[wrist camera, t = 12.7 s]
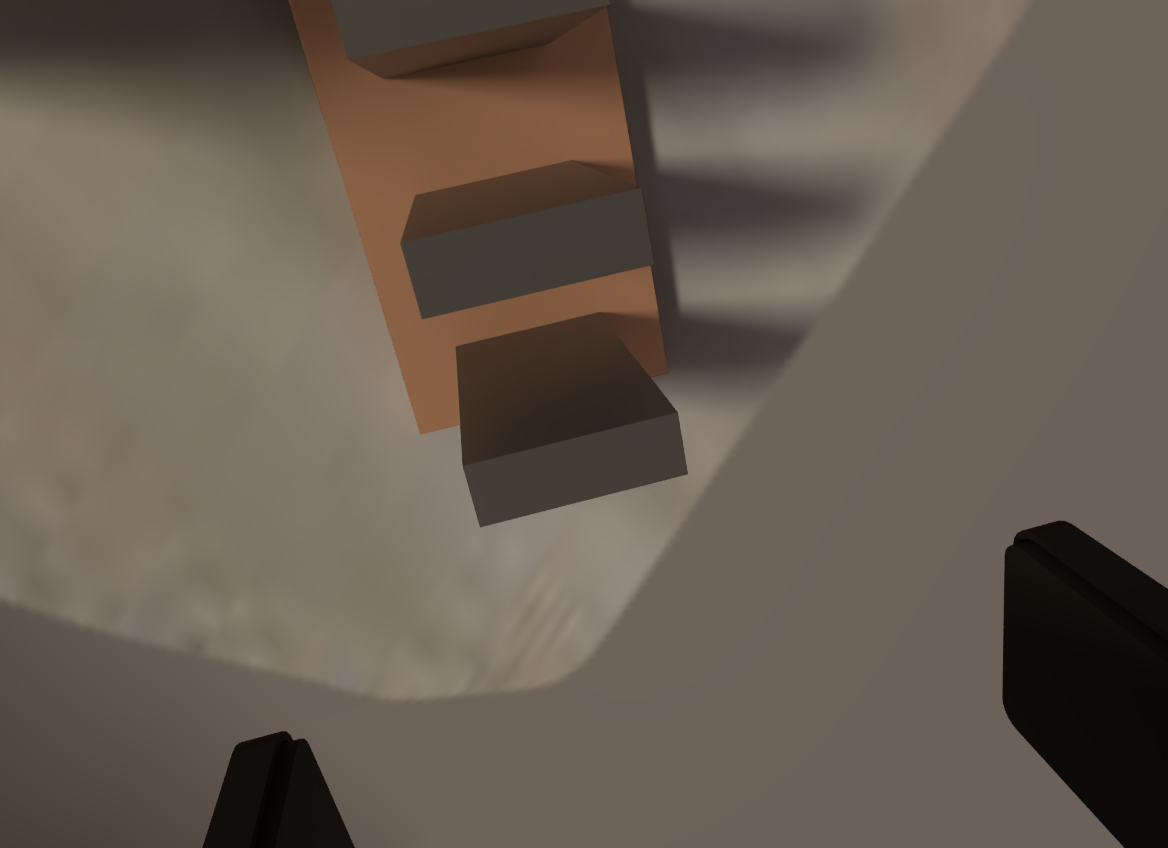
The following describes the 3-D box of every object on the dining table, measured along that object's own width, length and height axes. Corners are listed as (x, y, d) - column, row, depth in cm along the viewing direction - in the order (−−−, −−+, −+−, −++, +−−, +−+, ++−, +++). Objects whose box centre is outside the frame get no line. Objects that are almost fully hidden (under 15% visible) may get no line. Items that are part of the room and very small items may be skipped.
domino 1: (367, 20, 23) (319, -39, 14) (535, -15, 24) (594, -94, 15) (383, 79, 24) (347, 59, 15) (547, 44, 24) (611, 4, 15)
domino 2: (415, 195, 25) (400, 242, 16) (570, 160, 26) (641, 188, 17) (428, 245, 26) (422, 319, 17) (580, 210, 26) (654, 264, 17)
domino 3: (455, 346, 27) (462, 466, 18) (599, 312, 28) (677, 412, 18) (467, 389, 28) (480, 527, 19) (607, 356, 28) (688, 474, 19)
